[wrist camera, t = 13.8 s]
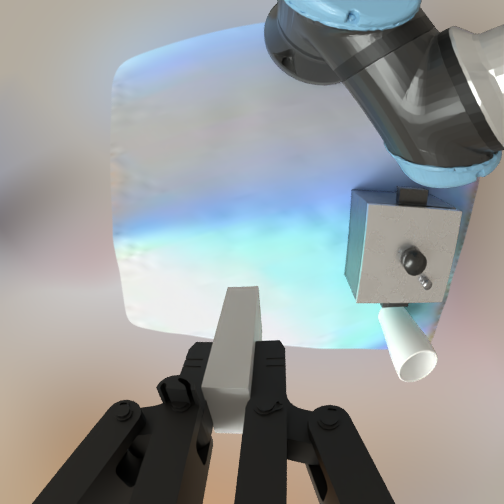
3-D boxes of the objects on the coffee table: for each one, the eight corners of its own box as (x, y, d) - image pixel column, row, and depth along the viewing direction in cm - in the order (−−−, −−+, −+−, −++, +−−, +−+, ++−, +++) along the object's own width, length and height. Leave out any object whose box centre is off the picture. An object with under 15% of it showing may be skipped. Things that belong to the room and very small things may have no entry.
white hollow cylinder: (401, 290, 50) (434, 342, 36) (410, 316, 52) (440, 369, 38) (368, 307, 51) (393, 364, 38) (380, 332, 53) (403, 389, 40)
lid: (367, 202, 36) (372, 208, 34) (459, 209, 34) (469, 215, 32) (355, 300, 42) (358, 311, 39) (440, 299, 40) (446, 309, 37)
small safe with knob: (352, 176, 43) (367, 187, 35) (432, 182, 42) (457, 194, 34) (343, 284, 50) (353, 311, 42) (416, 283, 49) (434, 306, 41)
